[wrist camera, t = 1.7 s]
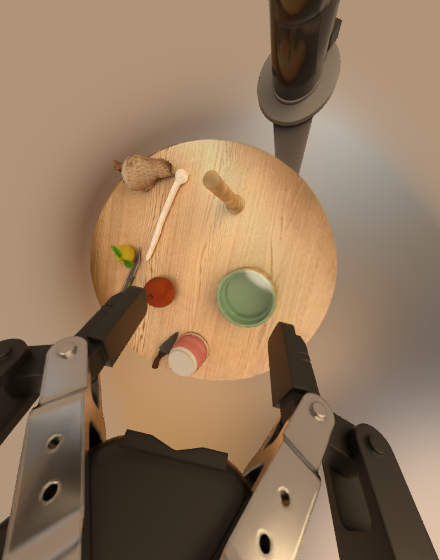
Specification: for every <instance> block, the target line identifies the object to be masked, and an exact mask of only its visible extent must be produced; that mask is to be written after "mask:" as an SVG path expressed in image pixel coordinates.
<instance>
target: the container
mask: <svg viewBox="0 0 440 560" xmlns="http://www.w3.org/2000/svg"><path fill="white" fill-rule="evenodd" d="M208 354H209V348H208V345H207V343H206V341H205V340H204V339H203V338H202V337H201V336H200V335H198V334H195V333H186V334H184V335H182V336H181V337H180V339H179V340H178V341H177V342H176V344H175V345H174V346H173V347H172V348H171V350H170V353H169V359H168V362H169V365H170V368H171V369H172V370H173V371H174V372H175V373H176V374H178V375H180V376H188V375H191V374H193V373H195V372H196V371H197V370H198V369H199V368H200V366H201V365H202V364H203V362H205V360H206V359H207V357H208Z"/></svg>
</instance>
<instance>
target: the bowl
mask: <svg viewBox="0 0 440 560" xmlns="http://www.w3.org/2000/svg"><path fill="white" fill-rule="evenodd" d="M276 294H277V293H276V289H275V285H274V283H273V282H272V280H271V278H270V277H269V276H268V275H267V274H265V273H264V272H263V271H261V270H258V269H256V268H247V267H245V268H241V269H237V270H235V271H233V272H231V273H230V274H228V275H226V276H225V277H224V278H223V280H222V281H221V282H220V284H219V287H218V289H217V304H218V307H219V310H220V311H221V313H222V314H223V316H224V317H225V318H226V319H227V320H228V321H230V322H231V323H233V324H235V325H237V326H240V327H246V328H250V327H257V326H259V325H261V324H263V323H265V322H266V321H267V320H268V319H269V318H270V317H271V316H272V314H273V311H274V309H275V306H276Z"/></svg>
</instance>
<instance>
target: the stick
mask: <svg viewBox="0 0 440 560" xmlns="http://www.w3.org/2000/svg"><path fill="white" fill-rule="evenodd" d="M203 183H204V186H205V187H206V188H207V189H209V190H210V191H211V192H212V193H213V194H214V195H216V196H217V197H218V198H219V199H220V200H222V201H223V202H224V203H225V204H226V205H227V209H228V210H229V211H230V212H231V213H233V214H238V213H240V212H241V211H242V210H243V209H244V205H245V203H244V200H243V198H242V197H241V196H239V195H235V194H234V193H233V192H232V190H231V189H230V188H229V187H228V186H227V184H226V183H225V182H224V181H223V179H222V178H221V177H220V176H219V175H218V173H217V172H216V171H213V170H211V171H208V172H207V173H206V174H205V175H204V178H203Z"/></svg>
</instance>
